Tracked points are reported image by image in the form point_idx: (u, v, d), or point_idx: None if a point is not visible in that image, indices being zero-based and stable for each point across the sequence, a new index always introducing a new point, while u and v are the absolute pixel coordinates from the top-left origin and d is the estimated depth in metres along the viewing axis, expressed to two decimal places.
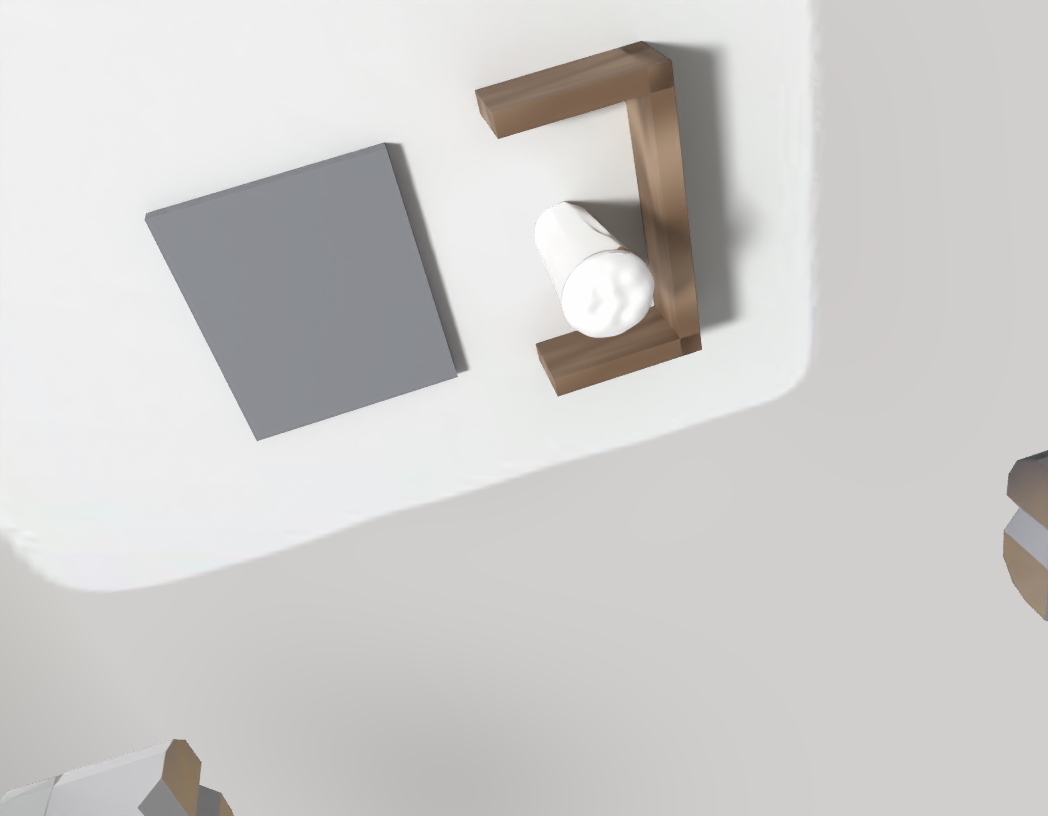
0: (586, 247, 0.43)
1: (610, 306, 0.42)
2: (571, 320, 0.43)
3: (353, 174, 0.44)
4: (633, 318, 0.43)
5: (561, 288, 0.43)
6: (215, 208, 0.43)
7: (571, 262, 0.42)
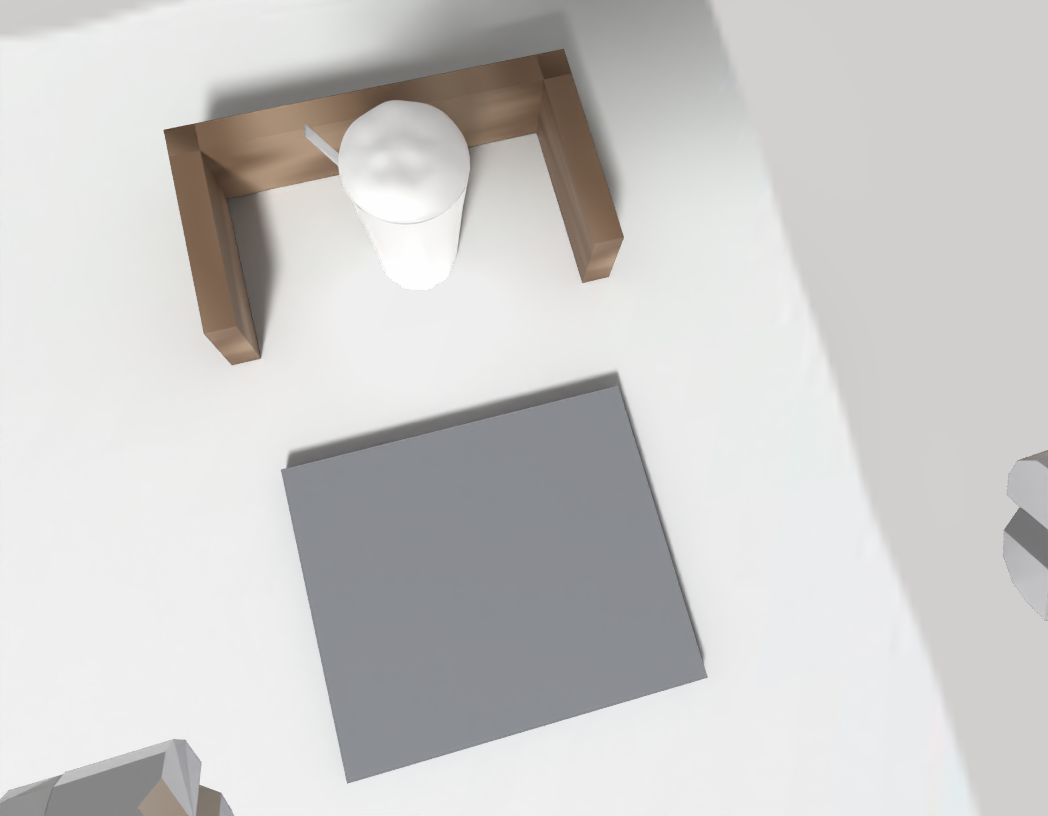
0: None
1: (404, 152, 0.30)
2: (431, 206, 0.30)
3: (311, 511, 0.35)
4: (427, 119, 0.30)
5: (395, 226, 0.31)
6: (340, 689, 0.33)
7: (364, 217, 0.31)
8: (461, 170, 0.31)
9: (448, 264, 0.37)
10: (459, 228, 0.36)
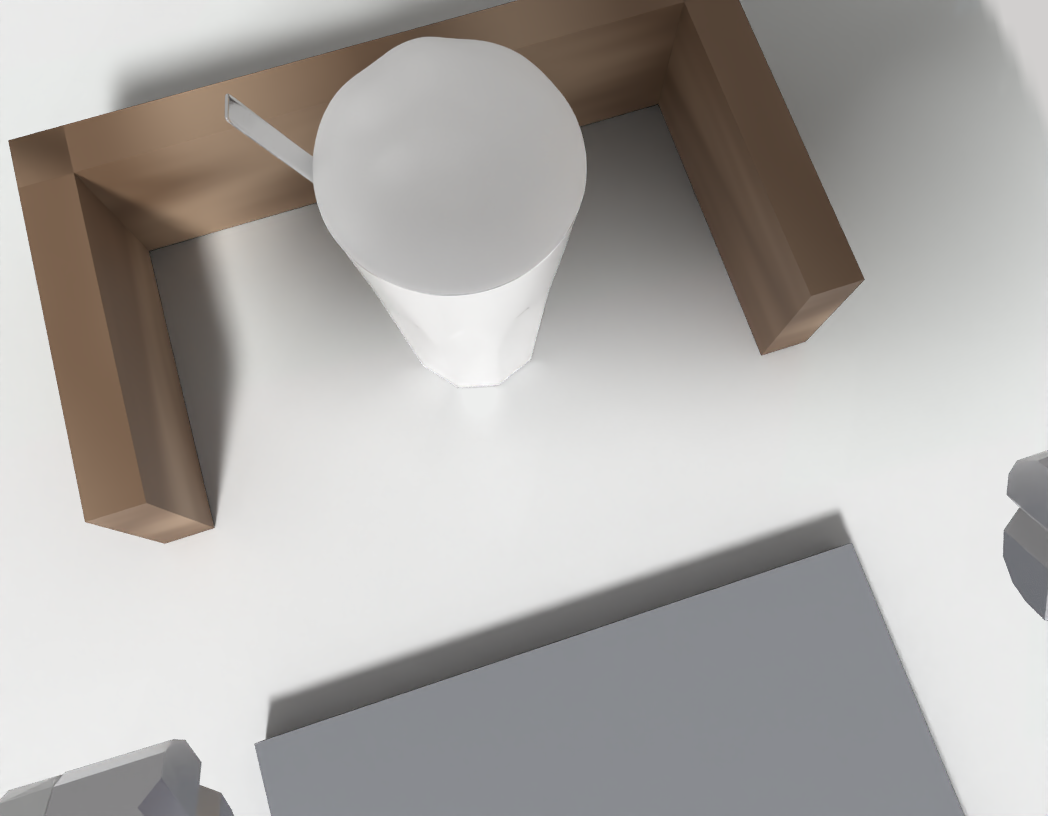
0: None
1: (450, 142, 0.14)
2: (514, 254, 0.14)
3: None
4: (493, 69, 0.14)
5: (438, 300, 0.15)
6: None
7: (374, 283, 0.15)
8: (572, 173, 0.14)
9: (532, 344, 0.21)
10: None
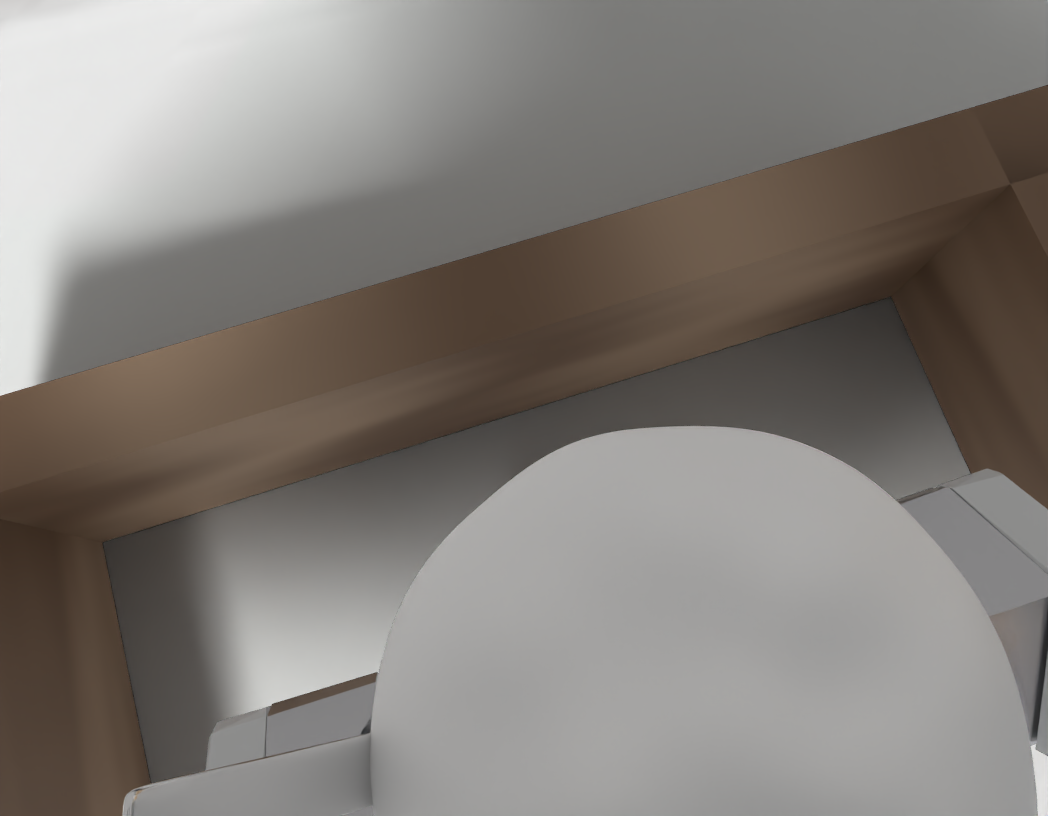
0: None
1: (736, 807, 0.05)
2: None
3: None
4: (833, 582, 0.05)
5: None
6: None
7: None
8: None
9: None
10: None
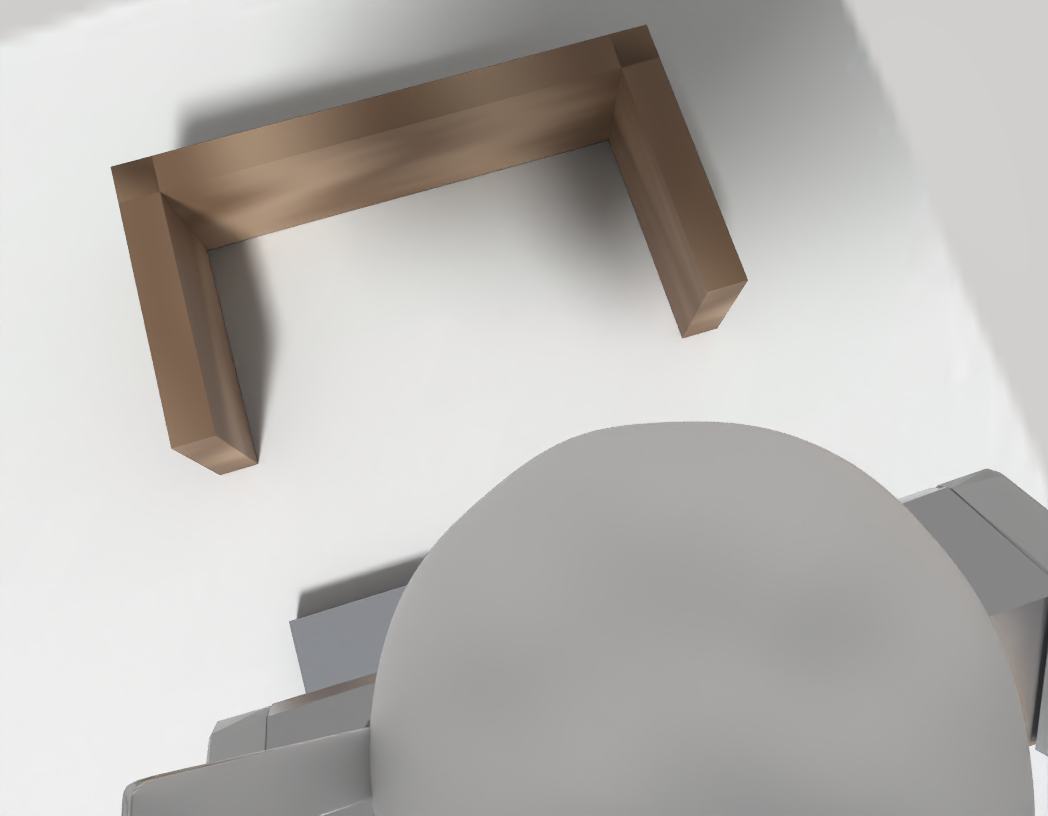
0: None
1: (731, 799, 0.05)
2: None
3: (332, 678, 0.25)
4: (827, 577, 0.05)
5: None
6: None
7: None
8: None
9: None
10: None
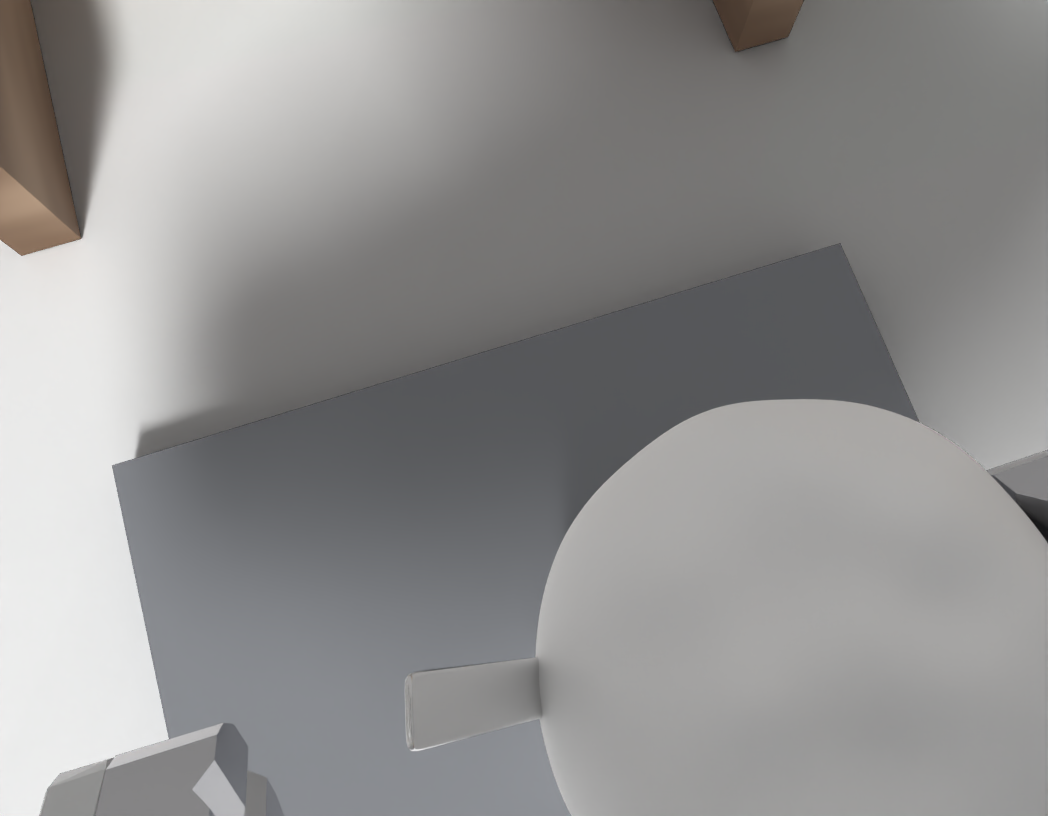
0: None
1: (873, 705, 0.06)
2: None
3: (178, 554, 0.16)
4: (946, 522, 0.07)
5: None
6: None
7: None
8: None
9: None
10: None
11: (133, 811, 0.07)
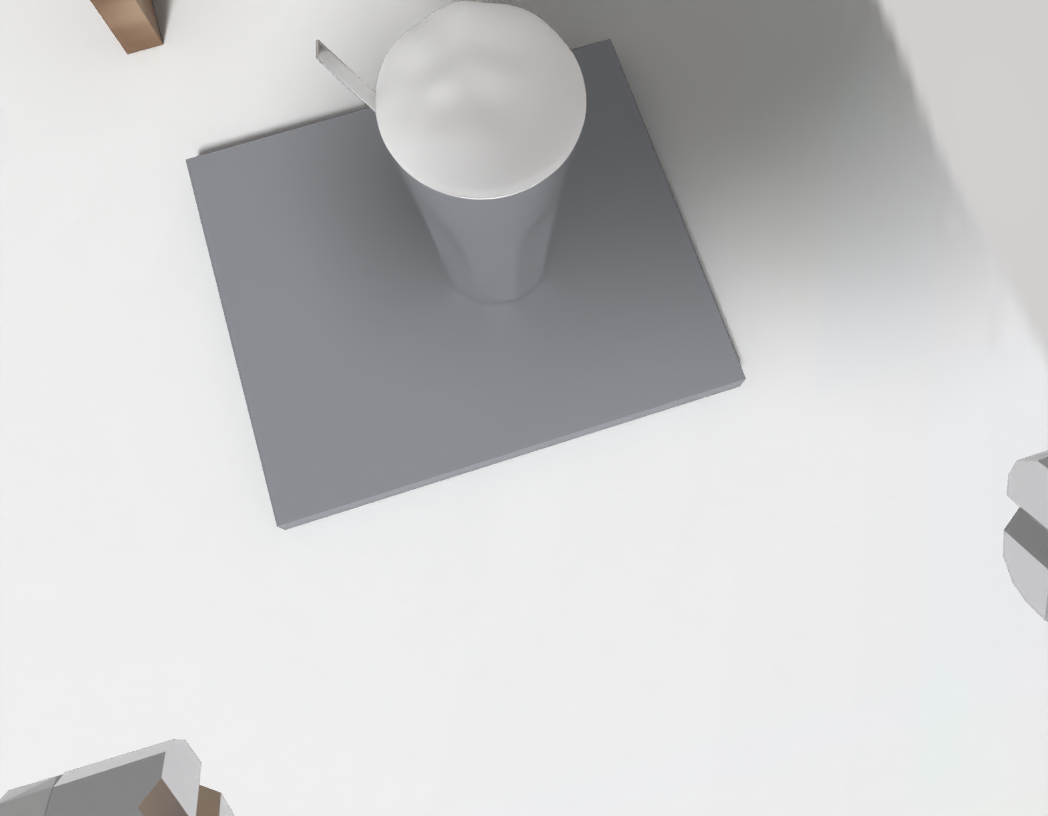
0: None
1: (482, 79, 0.18)
2: (530, 165, 0.18)
3: (224, 205, 0.28)
4: (515, 25, 0.19)
5: (471, 203, 0.19)
6: (265, 413, 0.26)
7: (421, 192, 0.20)
8: (574, 104, 0.19)
9: (543, 262, 0.25)
10: None
11: None
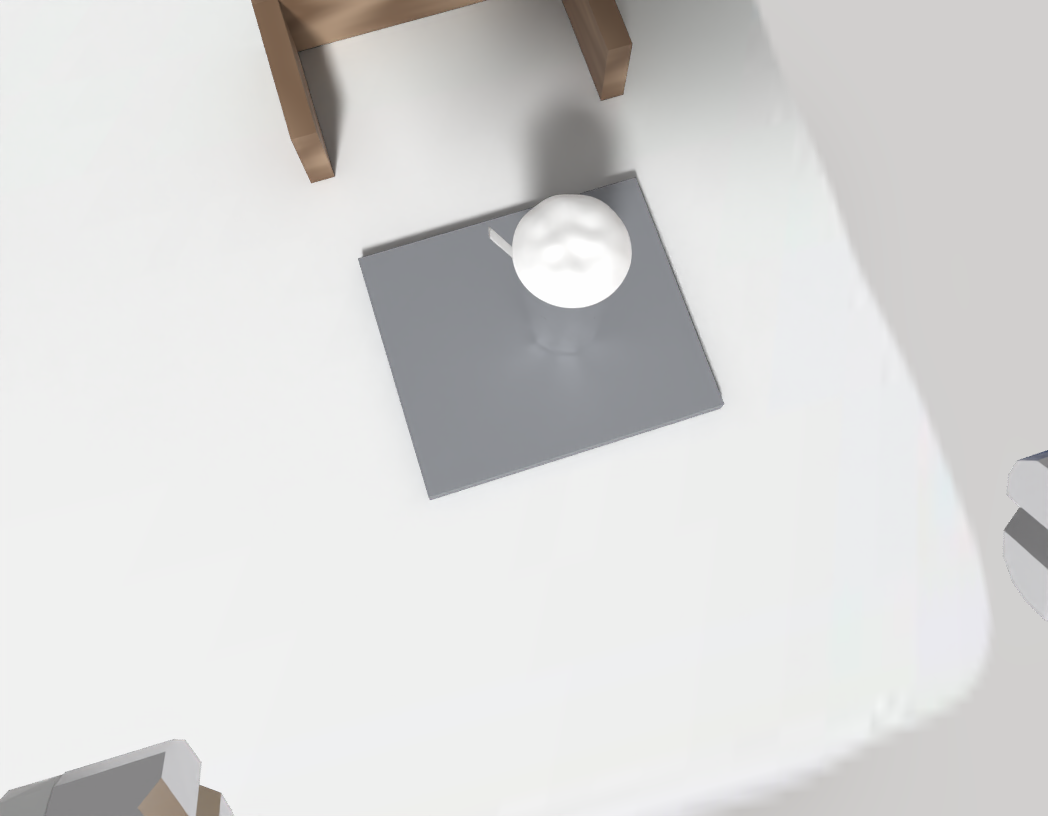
0: (521, 286, 0.35)
1: (576, 244, 0.33)
2: (601, 291, 0.33)
3: (385, 289, 0.42)
4: (593, 212, 0.33)
5: (566, 309, 0.34)
6: (418, 425, 0.40)
7: (536, 302, 0.34)
8: (626, 256, 0.33)
9: (596, 331, 0.40)
10: None
11: None
